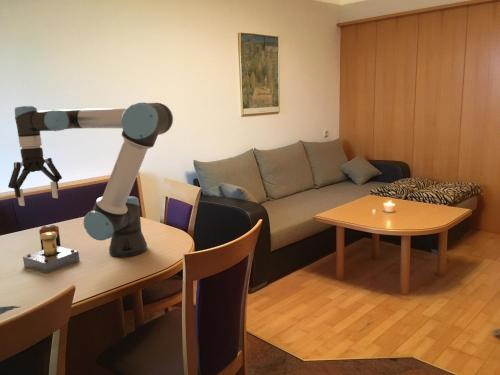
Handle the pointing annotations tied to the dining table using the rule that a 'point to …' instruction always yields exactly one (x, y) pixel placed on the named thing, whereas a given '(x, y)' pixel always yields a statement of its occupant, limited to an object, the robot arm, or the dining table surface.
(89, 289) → the dining table surface
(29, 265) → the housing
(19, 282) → the dining table surface
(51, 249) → the knob
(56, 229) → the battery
